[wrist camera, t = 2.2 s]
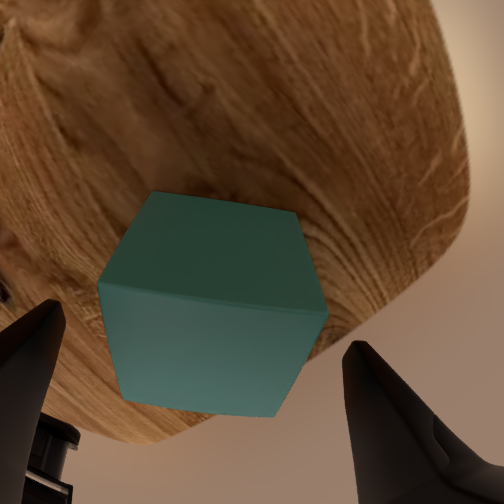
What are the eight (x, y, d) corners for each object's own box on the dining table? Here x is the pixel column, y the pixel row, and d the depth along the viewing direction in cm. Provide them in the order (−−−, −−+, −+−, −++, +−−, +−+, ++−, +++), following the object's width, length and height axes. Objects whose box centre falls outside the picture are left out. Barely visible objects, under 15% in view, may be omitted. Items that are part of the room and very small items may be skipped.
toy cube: (265, 315, 13) (274, 418, 9) (150, 299, 13) (122, 400, 8) (296, 211, 11) (331, 313, 6) (151, 189, 10) (95, 282, 6)
